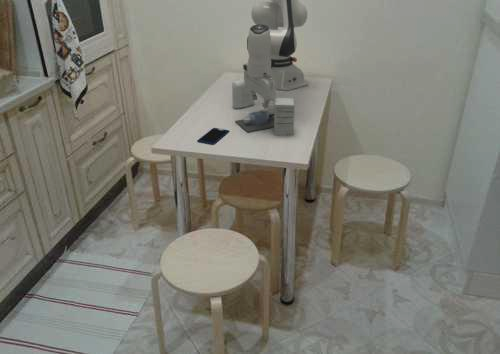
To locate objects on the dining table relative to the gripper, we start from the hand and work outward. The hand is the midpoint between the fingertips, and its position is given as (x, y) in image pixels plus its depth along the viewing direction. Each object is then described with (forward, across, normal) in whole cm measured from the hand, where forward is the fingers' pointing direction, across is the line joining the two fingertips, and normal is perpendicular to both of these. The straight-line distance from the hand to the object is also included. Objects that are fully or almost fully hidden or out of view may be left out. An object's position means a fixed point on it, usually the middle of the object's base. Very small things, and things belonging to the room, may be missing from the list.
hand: (259, 103), depth 189 cm
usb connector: (+8, -1, +1) cm, 8 cm away
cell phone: (+8, -4, +22) cm, 24 cm away
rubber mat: (+8, -1, +1) cm, 8 cm away
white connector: (+9, +8, -10) cm, 16 cm away
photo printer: (+9, +20, -2) cm, 22 cm away
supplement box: (+8, -12, -4) cm, 15 cm away
